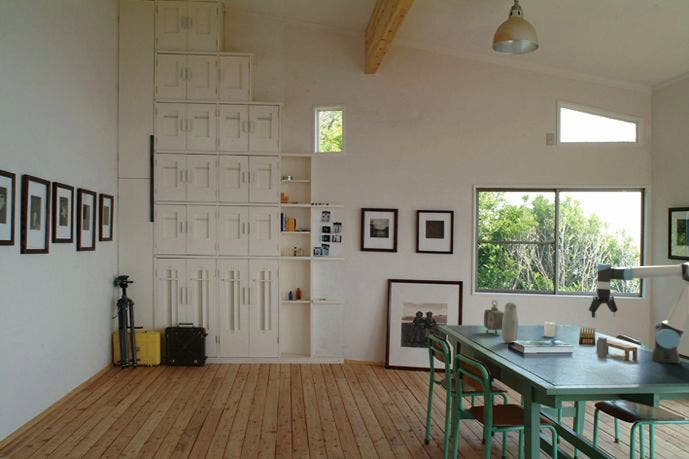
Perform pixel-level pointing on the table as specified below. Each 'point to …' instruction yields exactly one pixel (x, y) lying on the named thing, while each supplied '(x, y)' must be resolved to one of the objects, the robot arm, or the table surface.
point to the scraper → (605, 349)
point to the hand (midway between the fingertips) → (603, 322)
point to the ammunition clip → (587, 336)
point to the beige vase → (510, 323)
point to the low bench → (622, 347)
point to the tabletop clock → (493, 319)
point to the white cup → (549, 329)
